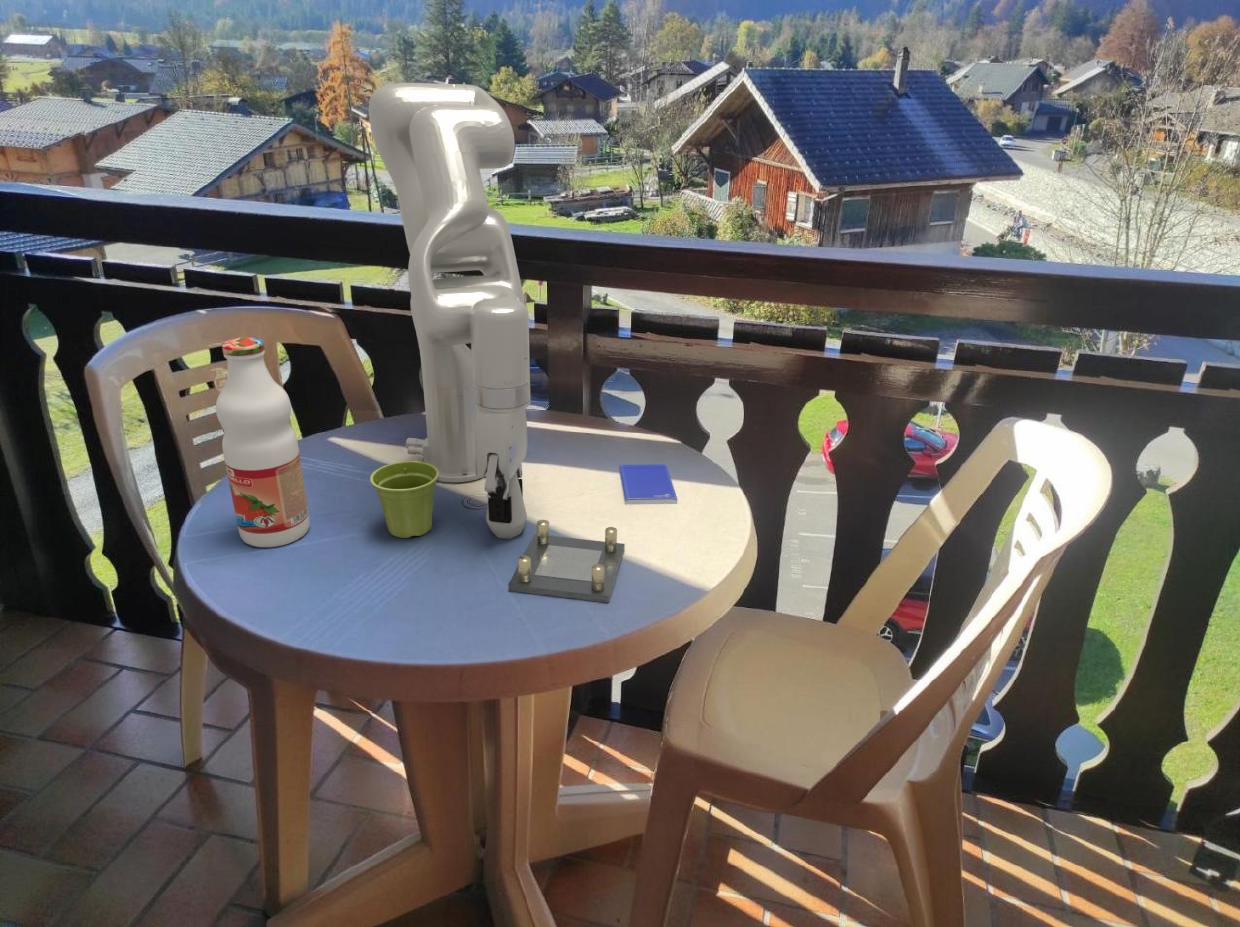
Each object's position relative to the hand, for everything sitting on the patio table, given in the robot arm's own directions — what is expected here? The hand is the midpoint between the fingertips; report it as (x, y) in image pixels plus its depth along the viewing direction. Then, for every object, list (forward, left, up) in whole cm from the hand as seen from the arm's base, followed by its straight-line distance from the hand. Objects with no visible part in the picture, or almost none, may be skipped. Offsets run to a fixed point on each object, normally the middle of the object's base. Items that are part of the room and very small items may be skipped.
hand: (506, 511), depth 116 cm
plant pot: (-14, -2, -4) cm, 15 cm away
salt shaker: (0, 0, -4) cm, 4 cm away
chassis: (+11, -8, -3) cm, 14 cm away
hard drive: (+18, +19, -4) cm, 27 cm away
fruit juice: (-32, -7, -4) cm, 33 cm away
